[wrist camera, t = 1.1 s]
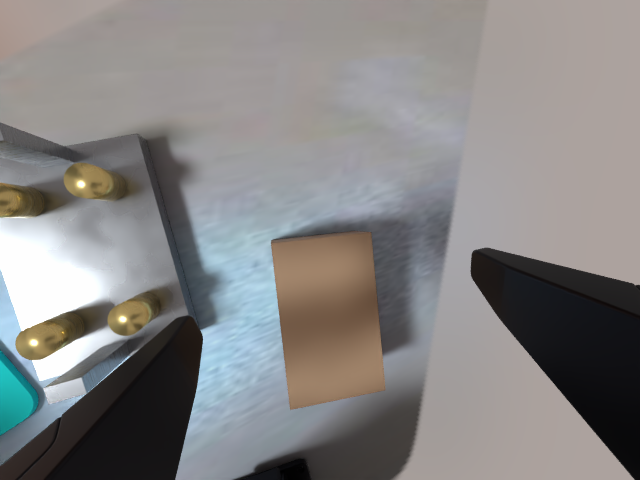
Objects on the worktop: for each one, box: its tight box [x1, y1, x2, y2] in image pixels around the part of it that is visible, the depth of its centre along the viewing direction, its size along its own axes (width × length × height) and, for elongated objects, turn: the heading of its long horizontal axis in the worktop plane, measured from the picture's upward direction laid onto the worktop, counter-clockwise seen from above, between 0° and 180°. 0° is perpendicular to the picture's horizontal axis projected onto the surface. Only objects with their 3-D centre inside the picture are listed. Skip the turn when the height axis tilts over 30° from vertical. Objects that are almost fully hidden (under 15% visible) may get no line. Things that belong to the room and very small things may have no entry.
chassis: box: [0, 123, 199, 404], centre depth 15 cm, size 13×9×6 cm
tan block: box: [271, 231, 385, 410], centre depth 19 cm, size 10×6×4 cm, turn 6°
